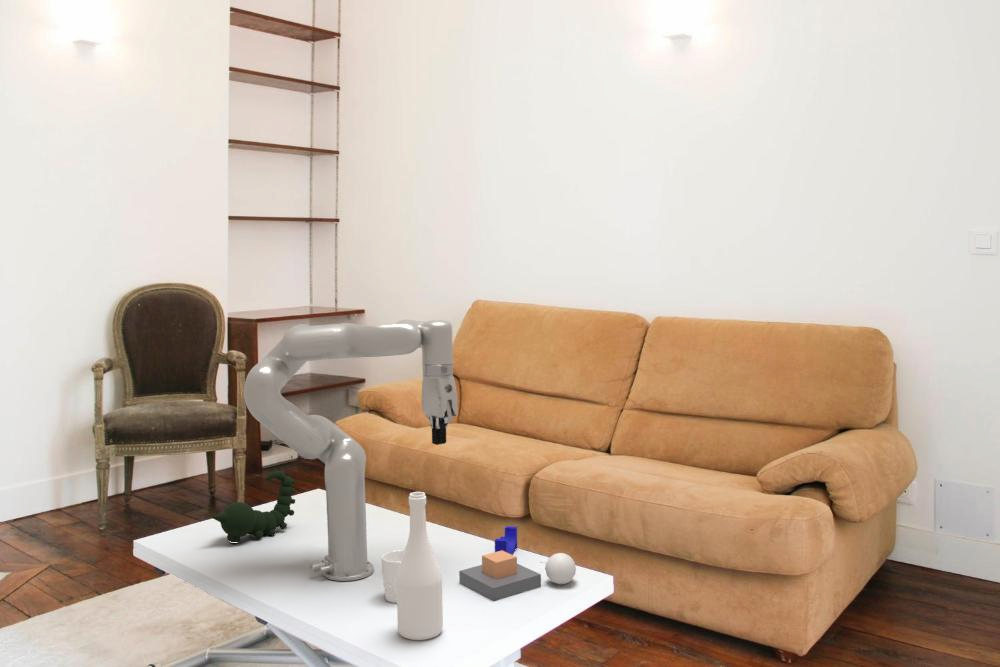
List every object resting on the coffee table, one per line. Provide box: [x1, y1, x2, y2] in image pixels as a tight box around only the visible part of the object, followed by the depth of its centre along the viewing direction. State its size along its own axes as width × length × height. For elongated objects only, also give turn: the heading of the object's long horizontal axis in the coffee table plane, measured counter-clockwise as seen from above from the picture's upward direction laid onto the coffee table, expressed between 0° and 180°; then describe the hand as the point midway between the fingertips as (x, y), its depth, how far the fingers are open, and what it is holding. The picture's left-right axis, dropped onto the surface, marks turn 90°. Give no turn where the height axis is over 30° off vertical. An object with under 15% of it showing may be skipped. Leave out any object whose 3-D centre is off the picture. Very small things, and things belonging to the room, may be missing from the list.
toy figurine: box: [211, 470, 296, 542], centre depth 256 cm, size 9×19×25 cm
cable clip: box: [494, 525, 518, 556], centre depth 240 cm, size 12×4×6 cm, turn 165°
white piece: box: [540, 552, 577, 585], centre depth 221 cm, size 10×7×7 cm
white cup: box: [381, 549, 405, 604], centre depth 212 cm, size 8×8×10 cm
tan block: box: [481, 551, 518, 579], centre depth 220 cm, size 6×6×7 cm
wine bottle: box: [396, 491, 444, 641], centre depth 193 cm, size 10×10×30 cm
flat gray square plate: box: [458, 563, 542, 601], centre depth 220 cm, size 14×14×3 cm
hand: (439, 443), depth 228 cm, fingers closed
